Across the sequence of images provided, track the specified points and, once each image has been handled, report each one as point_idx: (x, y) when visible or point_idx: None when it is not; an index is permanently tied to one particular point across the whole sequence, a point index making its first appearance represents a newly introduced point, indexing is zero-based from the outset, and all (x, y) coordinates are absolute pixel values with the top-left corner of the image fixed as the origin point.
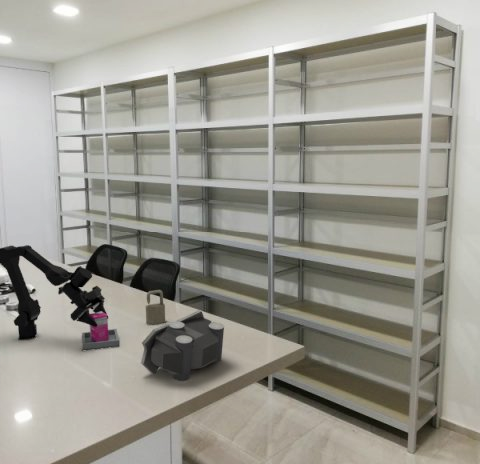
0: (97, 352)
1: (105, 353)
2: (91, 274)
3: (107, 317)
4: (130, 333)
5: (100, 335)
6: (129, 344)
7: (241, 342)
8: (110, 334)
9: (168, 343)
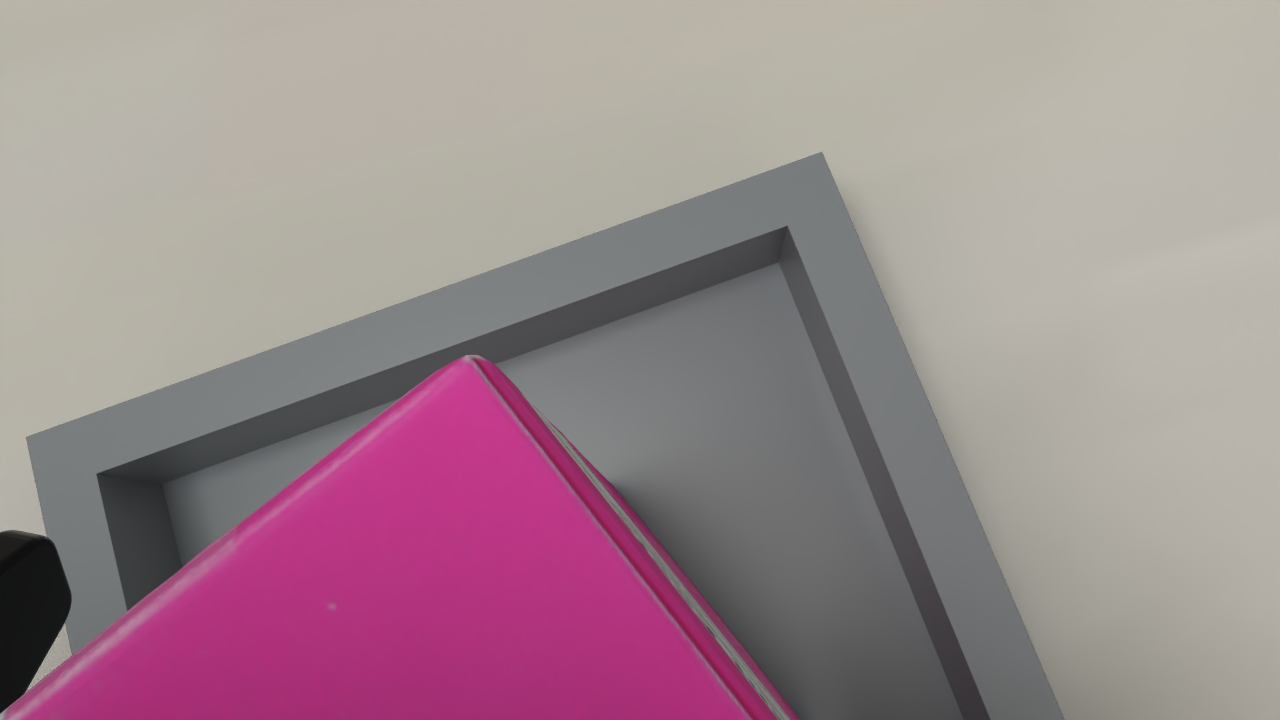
0: (1173, 576)
1: (1208, 383)
2: None
3: (20, 566)
4: (73, 189)
5: (743, 649)
6: (690, 47)
7: None
8: (177, 570)
9: None
